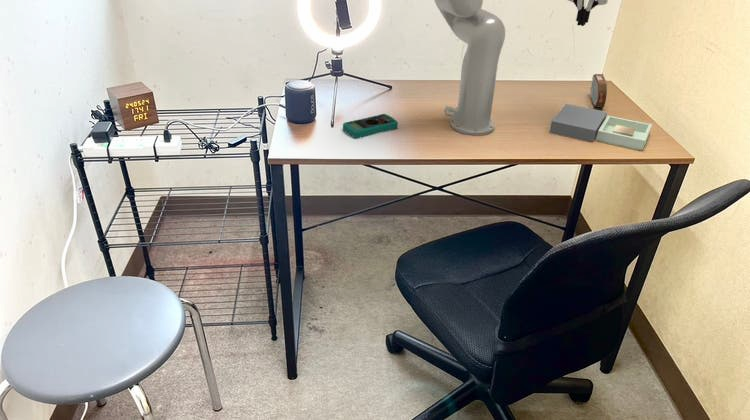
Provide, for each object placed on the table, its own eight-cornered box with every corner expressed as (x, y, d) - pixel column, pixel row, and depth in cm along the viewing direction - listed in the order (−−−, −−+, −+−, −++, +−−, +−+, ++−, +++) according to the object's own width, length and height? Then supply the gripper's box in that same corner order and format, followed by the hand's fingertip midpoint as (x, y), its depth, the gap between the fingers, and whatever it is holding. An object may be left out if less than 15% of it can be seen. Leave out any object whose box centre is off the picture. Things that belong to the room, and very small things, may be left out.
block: (632, 134, 150) (630, 141, 151) (635, 128, 154) (633, 135, 155) (613, 130, 152) (611, 137, 153) (616, 124, 156) (614, 131, 157)
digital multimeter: (399, 129, 158) (400, 120, 156) (354, 140, 151) (354, 130, 149) (385, 121, 163) (386, 111, 161) (341, 131, 156) (341, 121, 154)
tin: (603, 112, 171) (610, 85, 167) (593, 111, 172) (599, 84, 167) (597, 95, 184) (603, 70, 179) (587, 94, 184) (593, 69, 180)
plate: (549, 132, 157) (551, 121, 155) (563, 114, 168) (566, 103, 166) (592, 142, 151) (595, 130, 150) (604, 123, 163) (607, 111, 161)
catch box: (595, 140, 152) (598, 130, 151) (605, 125, 162) (607, 115, 160) (642, 151, 147) (645, 140, 146) (649, 134, 157) (652, 124, 155)
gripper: (563, -49, 143) (550, 23, 153) (624, -44, 137) (606, 31, 147) (570, -52, 149) (557, 18, 159) (629, -48, 143) (612, 25, 152)
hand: (581, 24), depth 153 cm, fingers closed
